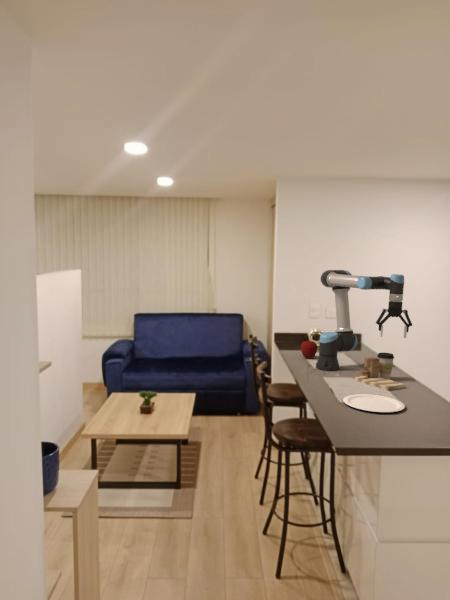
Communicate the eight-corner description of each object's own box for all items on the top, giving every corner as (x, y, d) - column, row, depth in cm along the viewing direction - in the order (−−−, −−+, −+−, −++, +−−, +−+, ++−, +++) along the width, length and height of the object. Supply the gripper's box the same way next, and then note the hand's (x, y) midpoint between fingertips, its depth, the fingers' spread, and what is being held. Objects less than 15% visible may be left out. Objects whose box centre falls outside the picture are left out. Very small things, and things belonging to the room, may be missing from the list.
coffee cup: (394, 381, 284) (395, 356, 282) (376, 379, 285) (378, 355, 284) (391, 377, 293) (393, 353, 292) (375, 375, 295) (376, 351, 294)
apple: (319, 358, 345) (320, 339, 344) (313, 360, 335) (314, 341, 334) (303, 355, 351) (304, 337, 350) (297, 358, 342) (298, 340, 340)
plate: (397, 419, 215) (397, 415, 215) (334, 407, 231) (335, 404, 230) (410, 403, 240) (410, 400, 240) (353, 393, 255) (353, 390, 255)
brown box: (356, 377, 283) (357, 358, 282) (370, 374, 289) (371, 356, 288) (364, 379, 278) (365, 360, 277) (378, 377, 284) (379, 358, 283)
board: (352, 379, 284) (352, 376, 284) (369, 377, 291) (369, 373, 291) (388, 390, 262) (388, 386, 262) (404, 387, 269) (405, 383, 269)
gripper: (375, 300, 275) (372, 337, 277) (419, 302, 273) (416, 339, 275) (372, 299, 283) (369, 334, 285) (415, 301, 280) (412, 336, 283)
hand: (392, 337), depth 280 cm, fingers open, 13 cm apart
